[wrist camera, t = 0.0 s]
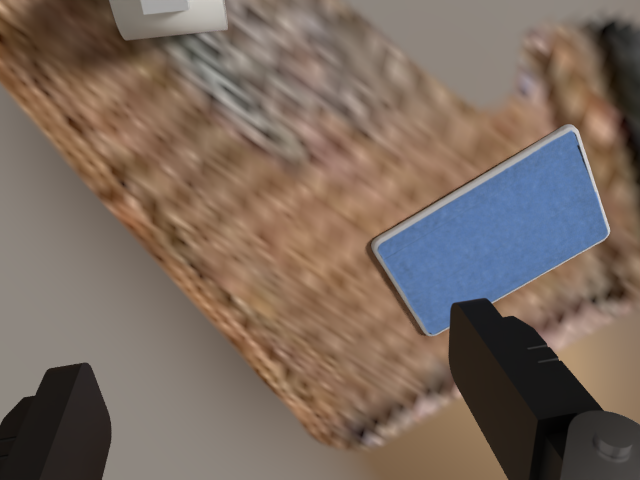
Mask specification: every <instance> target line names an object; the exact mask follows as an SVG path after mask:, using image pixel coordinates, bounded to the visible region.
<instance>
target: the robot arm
mask: <svg viewBox="0 0 640 480" xmlns="http://www.w3.org/2000/svg"><path fill="white" fill-rule="evenodd" d="M449 365H450V370H451V373H452V376H453V379H454V382H455V384H456V385H457V387H458V389H459V391H460V393H461V395H462V396H463V398H464V400H465V402H466V404H467V405H468V407H469V409H470V411H471V413H472V414H473V416H474V418H475V420H476V422H477V423H478V425H479V427H480V429H481V431H482V432H483V434H484V436H485V438H486V440H487V442H488V443H489V445H490V447H491V449H492V451H493V453H494V454H495V456H496V458H497V460H498V462H499V463H500V465H501V467H502V469H503V471H504V473H505V474H506V476H507V478H508V480H640V425H639V424H638V423H636V422H635V421H633V420H631V419H629V418H627V417H625V416H623V415H620V414H617V413H613V412H608V411H604V410H603V409H602V408H601V407H600V405H599V404H598V403H597V402H596V401H595V400H594V398H593V397H592V396H591V395H590V394H589V393H588V391H587V390H586V389H585V388H584V387H583V386H582V384H581V383H580V382H579V381H578V380H577V378H576V377H575V376H574V375H573V374H572V373H571V371H570V370H569V369H568V368H567V367H566V366H565V365H564V363H563V362H562V361H559V359H558V356H557V355H556V354H555V353H554V352H553V350H552V349H551V348H550V347H548V346H547V343H546V342H545V341H544V340H543V339H542V337H541V336H540V335H539V334H538V333H537V332H536V330H535V329H534V328H533V327H531V326H529V325H528V324H526V323H524V322H523V321H521V320H519V319H518V318H516V317H514V316H508V317H502V316H501V315H500V313H499V312H498V311H497V310H496V308H495V307H494V306H493V305H492V303H491V302H490V301H489V300H488V299H487V298H480V299H473V300H467V301H461V302H455V303H453V304H452V305H451V309H450V331H449ZM110 444H111V421H110V416H109V413H108V410H107V407H106V405H105V402H104V399H103V397H102V395H101V391H100V389H99V386H98V383H97V381H96V378H95V375H94V373H93V370H92V368H91V366H90V365H89V364H88V363H80V364H74V365H68V366H61V367H55V368H50V369H48V370H47V371H46V373H45V375H44V377H43V379H42V382H41V384H40V386H39V388H38V390H37V392H36V395H35V396H30V397H24V398H23V399H22V400H21V401H20V402H19V403H18V404H17V405H16V406H15V407H14V408H13V409H12V410H11V411H10V412H9V413H8V414H7V415H6V417H4V419H3V421H2V423H1V425H0V480H102V477H103V473H104V468H105V464H106V460H107V456H108V452H109V448H110Z"/></svg>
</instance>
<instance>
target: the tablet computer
mask: <svg viewBox="0 0 640 480" xmlns="http://www.w3.org/2000/svg"><path fill="white" fill-rule="evenodd" d="M609 233H610V227H609V224H608V222H607V218H606V215H605V212H604V209H603V206H602V203H601V200H600V197H599V193H598V190H597V187H596V184H595V181H594V178H593V175H592V172H591V168H590V165H589V162H588V159H587V156H586V153H585V150H584V147H583V144H582V141H581V137H580V134H579V131H578V130H577V129H576V128H575V127H574V126H573V125H570V124H568V125H564V126H562V127H560V128H559V129H557V130H555V131H554V132H552V133H550V134H549V135H547V136H545V137H544V138H542V139H541V140H539V141H537V142H536V143H534V144H533V145H531V146H529V147H528V148H526V149H524V150H523V151H521V152H520V153H518V154H516V155H515V156H513V157H511V158H510V159H508V160H506V161H505V162H503V163H501V164H500V165H498V166H496V167H495V168H493V169H491V170H490V171H488V172H486V173H485V174H483V175H481V176H480V177H478V178H476V179H475V180H473V181H471V182H469V183H468V184H466V185H464V186H463V187H461V188H459V189H458V190H456V191H454V192H452V193H451V194H449V195H447V196H446V197H444V198H442V199H441V200H439V201H437V202H436V203H434V204H432V205H431V206H429V207H427V208H426V209H424V210H422V211H421V212H419V213H417V214H416V215H414V216H412V217H410V218H409V219H407V220H405V221H404V222H402V223H400V224H399V225H397V226H395V227H394V228H392V229H390V230H388V231H386V232H385V233H383V234H381V235H379V236H378V237H376V238H375V239H374V240H373V241H372V243H371V248H372V251H373V252H374V254H375V256H376V257H377V259H378V261H379V262H380V264H381V265H382V267H383V268H384V270H385V271H386V273H387V275H388V276H389V278H390V279H391V281H392V283H393V284H394V286H395V288H396V289H397V291H398V292H399V294H400V296H401V297H402V299H403V300H404V302H405V304H406V305H407V307H408V308H409V310H410V312H411V313H412V315H413V316H414V318H415V320H416V321H417V323H418V324H419V326H420V328H421V329H422V331H423V332H424V333H425V334H426V335H428V336H435V335H438V334H439V333H441V332H443V331H445V330H446V329H448V328H450V309H451V305H452V304H453V303H455V302H461V301H467V300H473V299H480V298H487V299H488V300H489V301H490V302H491V303H494V302H496V301H497V300H499V299H501V298H503V297H504V296H506V295H508V294H510V293H512V292H513V291H515V290H517V289H519V288H520V287H522V286H524V285H526V284H527V283H529V282H531V281H533V280H534V279H536V278H538V277H540V276H541V275H543V274H545V273H547V272H549V271H550V270H552V269H554V268H556V267H558V266H559V265H561V264H563V263H564V262H566V261H568V260H570V259H572V258H573V257H575V256H577V255H579V254H580V253H582V252H584V251H586V250H588V249H589V248H591V247H593V246H595V245H596V244H598V243H600V242H602V241H604V240H605V239H606V238H607V237H608V235H609Z"/></svg>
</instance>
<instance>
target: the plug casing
mask: <svg viewBox="0 0 640 480" xmlns="http://www.w3.org/2000/svg"><path fill="white" fill-rule="evenodd" d="M109 2H110V6H111V9H112V13H113V16H114V19H115V22H116V24H117V27H118V29H119V31H120V34H121V35H122V37H123V38H124V39H125V40H135V39H145V38H154V37H164V36H173V35H183V34H192V33H202V32H211V31H220V30H228V27H227V15H226V8H225V2H224V0H109Z"/></svg>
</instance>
